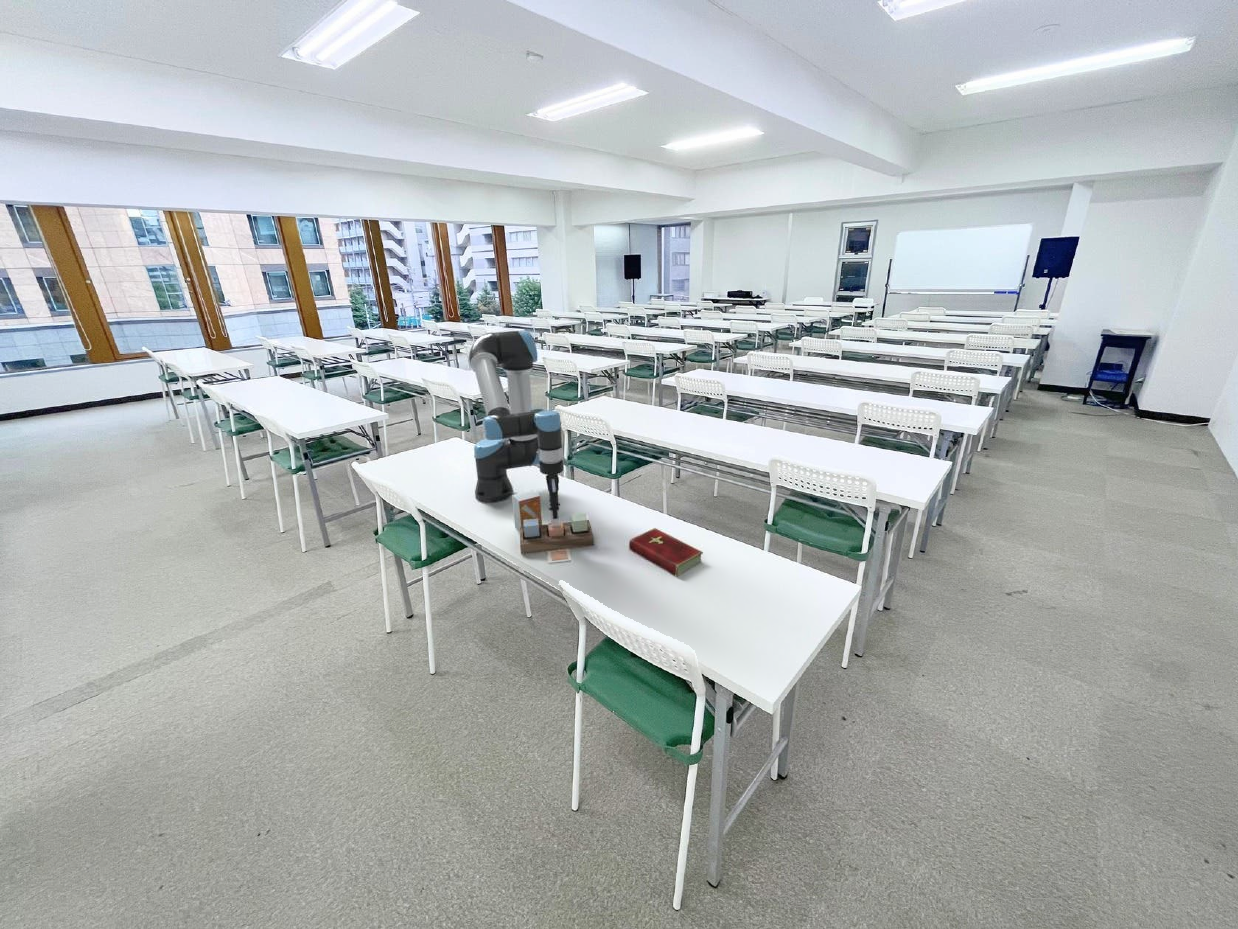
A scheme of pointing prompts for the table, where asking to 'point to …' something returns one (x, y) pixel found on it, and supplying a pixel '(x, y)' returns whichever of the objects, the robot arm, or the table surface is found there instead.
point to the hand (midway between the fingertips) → (555, 525)
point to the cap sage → (579, 522)
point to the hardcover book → (665, 551)
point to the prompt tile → (559, 556)
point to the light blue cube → (531, 527)
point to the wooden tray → (556, 539)
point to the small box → (526, 508)
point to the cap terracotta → (555, 530)
